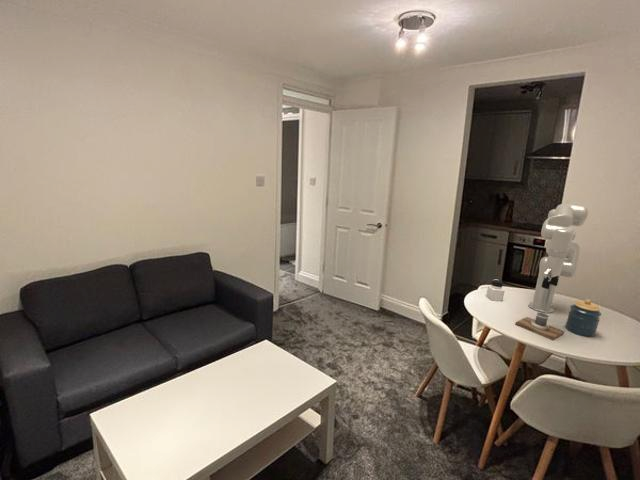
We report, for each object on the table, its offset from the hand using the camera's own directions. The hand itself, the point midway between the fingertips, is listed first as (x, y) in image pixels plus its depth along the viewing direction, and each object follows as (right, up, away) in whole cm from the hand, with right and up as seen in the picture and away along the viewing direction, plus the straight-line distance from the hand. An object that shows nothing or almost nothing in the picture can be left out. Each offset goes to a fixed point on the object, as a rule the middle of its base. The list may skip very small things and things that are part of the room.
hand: (549, 286), depth 176 cm
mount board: (-2, -23, +5) cm, 23 cm away
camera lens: (-2, -20, +4) cm, 20 cm away
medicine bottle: (-6, -13, +43) cm, 45 cm away
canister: (+21, -24, +7) cm, 33 cm away
